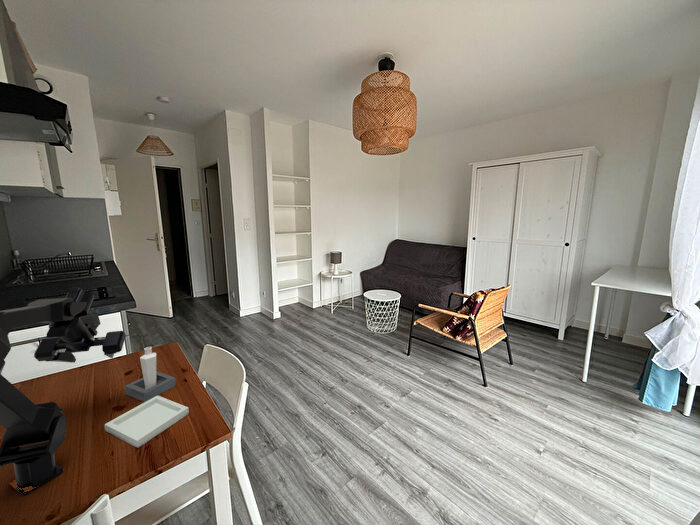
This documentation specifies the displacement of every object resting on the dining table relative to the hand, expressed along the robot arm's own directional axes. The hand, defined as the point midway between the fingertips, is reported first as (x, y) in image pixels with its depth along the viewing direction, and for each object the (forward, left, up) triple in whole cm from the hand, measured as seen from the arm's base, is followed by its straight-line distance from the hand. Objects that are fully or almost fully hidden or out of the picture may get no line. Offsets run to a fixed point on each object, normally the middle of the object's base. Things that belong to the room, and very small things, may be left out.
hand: (94, 358), depth 85 cm
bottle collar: (-8, -11, -14) cm, 20 cm away
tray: (-23, -1, -14) cm, 27 cm away
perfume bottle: (-8, -11, -15) cm, 20 cm away
